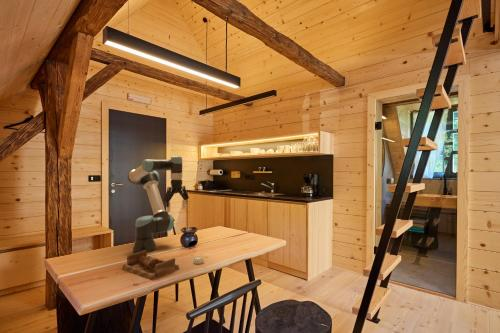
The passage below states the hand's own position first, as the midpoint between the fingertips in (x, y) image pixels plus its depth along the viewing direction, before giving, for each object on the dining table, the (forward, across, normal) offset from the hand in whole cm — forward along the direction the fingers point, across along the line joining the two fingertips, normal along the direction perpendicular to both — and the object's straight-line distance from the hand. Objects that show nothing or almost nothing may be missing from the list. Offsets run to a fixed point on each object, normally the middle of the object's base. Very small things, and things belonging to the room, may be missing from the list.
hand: (176, 210), depth 181 cm
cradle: (+29, -28, -10) cm, 41 cm away
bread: (+29, -28, -11) cm, 42 cm away
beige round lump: (+29, -5, -25) cm, 39 cm away
